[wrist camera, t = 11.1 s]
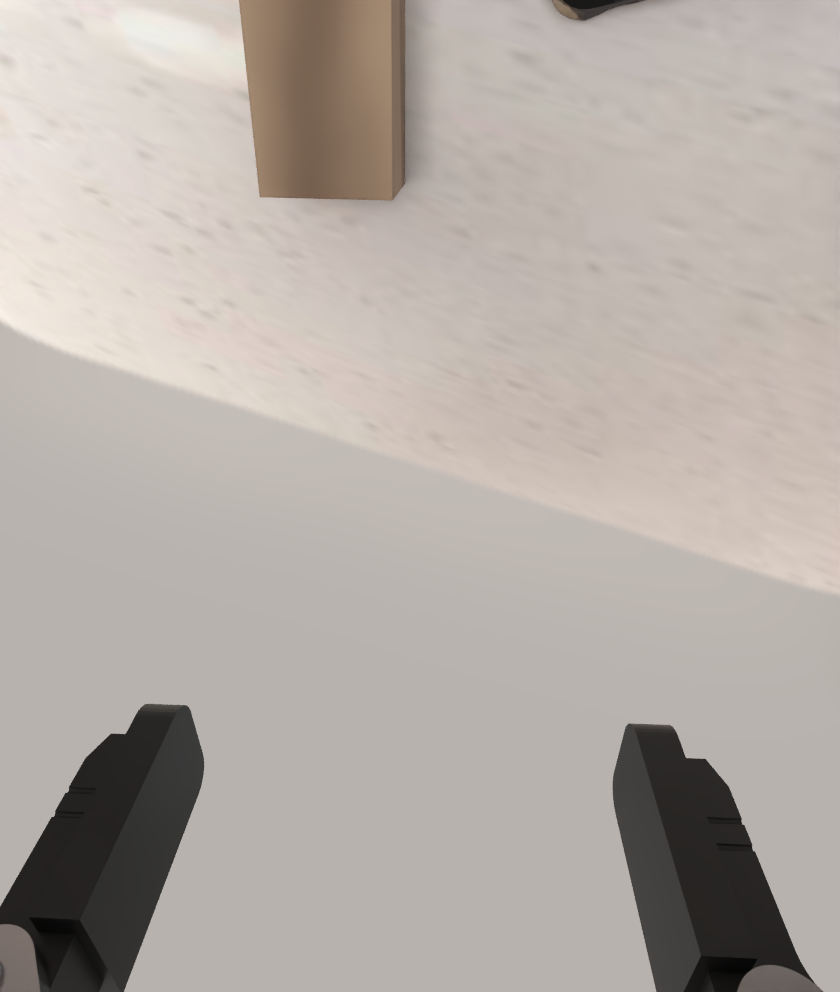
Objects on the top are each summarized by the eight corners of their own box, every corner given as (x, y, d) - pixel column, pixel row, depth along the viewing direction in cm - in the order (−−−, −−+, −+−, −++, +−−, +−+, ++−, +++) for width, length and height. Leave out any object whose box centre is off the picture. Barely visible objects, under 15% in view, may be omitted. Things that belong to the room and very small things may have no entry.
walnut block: (405, -170, 28) (389, -263, 21) (404, 183, 35) (392, 200, 28) (271, -171, 28) (211, -263, 21) (298, 181, 35) (260, 197, 28)
